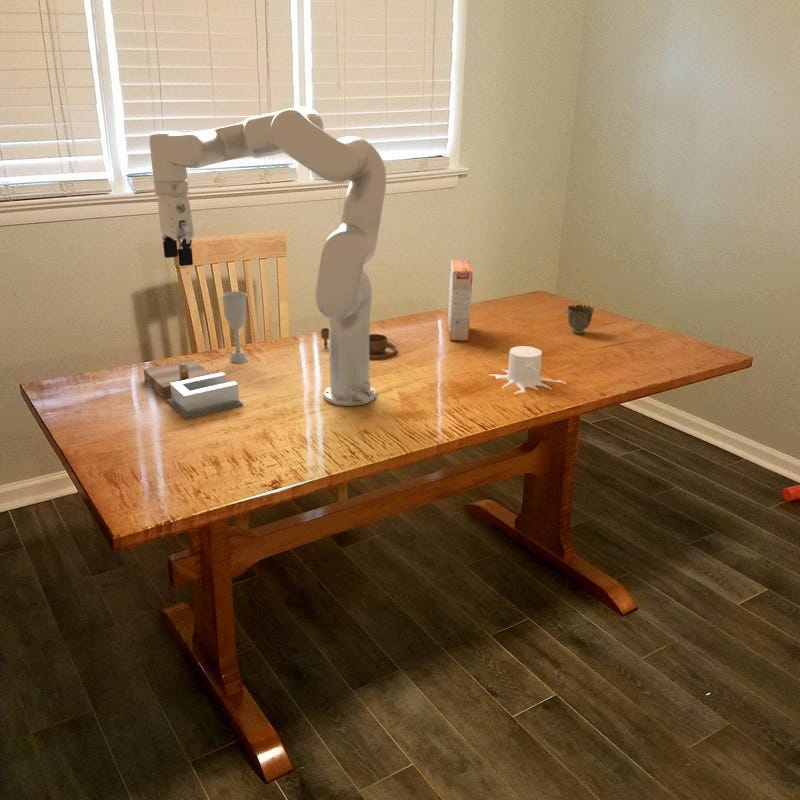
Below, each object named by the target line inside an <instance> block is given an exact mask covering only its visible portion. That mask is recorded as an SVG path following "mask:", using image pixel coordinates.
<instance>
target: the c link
mask: <svg viewBox="0 0 800 800" xmlns="http://www.w3.org/2000/svg"><path fill="white" fill-rule="evenodd" d="M170 386H171V395H172V397H171V398H172V401H173V402H174V403H175V404H176V405H177V406H178V407H179V408H180V409H181V410H182V411H184V412H185V413H186V414H188V413H193V412H197V411H201V410H205V409H210V408H214V407H218V406H222V405H227V404H231V403H235V402H239V401H240V396H239V395H240V394H239V384H238V383H237V382H236V381H229V382H227V375H226V374H225V372H224V371H223V372H221V371H220V372H217V373H211V375H206V376H202V377H197V378H192V379H188V380H183V381H178V382H173V383H170Z"/></svg>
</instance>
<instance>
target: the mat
mask: <svg viewBox="0 0 800 800" xmlns="http://www.w3.org/2000/svg"><path fill="white" fill-rule="evenodd" d="M166 402H167V403H168V404H169V405H170V406H171V407H172V408H174V409H173V410H175V411H176V412H177V413H178V414H179V415H180V416H182V417H183V419H185V420H189V419H192V418H197V417H201V416H202V417H203V416H205V415H209V414H213V413H218V412H223V411H227V410H230V409H235V408H239V406H240V407H243V406H244V403H243V402H241V401H240V400H239V402H235V403H231V404H227V405H222V406H218V407H214V408H210V409H205V410H201V411H197V412H193V413H188V414H186V413H185V412H184V411H182V410H181V409H180V408H179V407H178V406H177V405H176V404H175V403H174V402H173V401H172V397H170V398H166ZM242 405H243V406H242ZM222 410H223V411H222Z"/></svg>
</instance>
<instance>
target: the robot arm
mask: <svg viewBox="0 0 800 800" xmlns="http://www.w3.org/2000/svg"><path fill="white" fill-rule="evenodd" d="M149 148H150V157H151V158H150V160H151V167H152V168H151V169H152V176H153V177H152V178H153V186H154V194H155V196H156V197H157V199H158V202H157V203H158V204H157V205H158V216H159V217H158V219H159V226H160V231H161V233H162V235H161V236H162V237H161V238H162V246H163V254H164V255H163V256H164V258H165V259H168V258H170V259H171V258H176V257H178V265H179V266H180V267H184V266H185V267H186V266H192V265H193V264H194V261H193V260H194V259H193V258H194V257H193V250H192V247H193V246H192V245H193V244H192V242H193V240H192V238H194V237H195V232H194V231H195V230H194V225H193V217H192V211H191V205H190V200H189V197H188V195H189V194H190V193H189V183H188V173H187V172H188V171H187V168H189V169H198V168H203V167H206V166H211V165H214V164H218V163H223V162H227V161H231V160H232V161H233V160H237V159H238V160H239V159H241V158H242V159H244V158H249V157H251V158H252V157H253V158H255V159H258V158H264V157H269V156H274V155H278V154H286V155H287V156H288V157H290V158H292V159H293V160H295V161H296V162H297V163H299V164H300V165H301V166H303V167H305V168H306V169H307V170H309V171H311V172H312V173H314V174H315V175H317V176H318V177H320V178H321V179H323V180H325V181H326V182H330V183H335V184H341V183H344V182H347V181H348V186H347V190H346V194H345V197H344V202H343V208H342V209H343V210H342V215H341V220H340V223H339V227H338V228H337V229H336V230H334V231H332V233H331V234H329V236H328V237H327V238H326V240H325V242H324V244H323V247H322V251H321V254H320V261H319V268H318V274H317V280H316V286H315V293H314V294H315V295H314V296H315V304H316V307H317V309H318V311H319V312H320V314H321V315H322V316H323V317H325V318H327V319H328V329H329V339H328V351H329V352H328V354H329V355H328V358H329V359H328V360H329V386H327V387H326V388H325V390H324V391H323V397H324V399H325V401H327V402H329V403H330V404H333V405H336V406H343V407H345V406H346V407H351V406H352V407H355V406H362V405H366V404H368V403H371V402H373V401H374V399H376V397H377V391H376V390H375V388H374V387H373V386H371V382H370V359H369V355H370V354H369V335H370V334H371V333H370V328H371V327H370V325H371V324H370V319H371V309H372V308H371V307H372V297H373V296H372V295H373V289H372V288H373V287H372V283H371V280H370V277H369V276H368V274H367V273H366V272H365V271H364V266H365V264H367V263H368V262H369V261H370V260H371V259H372V258H373V256H374V255H375V253H376V249H377V244H378V243H377V242H378V236H379V230H380V225H381V221H382V220H381V219H382V212H383V207H384V201H385V194H386V189H387V171H386V167H385V163H384V161H383V159H382V157H381V155H380V153H379V152H378V150H376V148H375V147H374V146H373V145H372V144H371V143H369V142H368V141H367V140H365V139H364V138H361V137H358V136H351V135H349V136H344V137H340V138H338V139H337V138H335V137H334V136H332V135H331V134H329V133H328V132H327V131H325V130H324V122H323V120H322V117H321V116H320V114H319V113H318V112H317V111H316V110H315V109H313V108H310V107H308V106H307V107H306V106H298V107H292V108H291V107H290V108H287V109H283V110H280V111H275V112H270V113H265V114H262V115H261V114H260V115H256V116H251V117H248V118H246V119H244V121H241V122H238V123H235V124H230V125H226V126H225V125H224V126H220V127H216V128H211V129H206V130H205V129H204V130H198V131H193V132H187V133H180V132H178V131H172V130H163V131H155V132H152V133H151V134H150V135H149Z"/></svg>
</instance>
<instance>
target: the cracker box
mask: <svg viewBox="0 0 800 800" xmlns="http://www.w3.org/2000/svg"><path fill="white" fill-rule="evenodd" d="M472 268H473V267H472V266H471V262H470V260H467V259H462V260H461V259H459V260H458V259H451V260H450V269H449V270H450V271H449V291H448V311H447V312H448V313H447V315H448V316H447V331H448V337H449V341H461V342H468V341H469V339H470V323H471V319H470V318H471V305H472V304H471V303H472V290H473V289H472V287H473V272H474V271H473V269H472Z"/></svg>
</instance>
